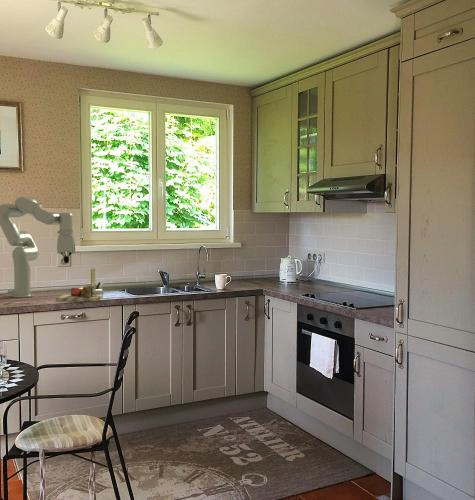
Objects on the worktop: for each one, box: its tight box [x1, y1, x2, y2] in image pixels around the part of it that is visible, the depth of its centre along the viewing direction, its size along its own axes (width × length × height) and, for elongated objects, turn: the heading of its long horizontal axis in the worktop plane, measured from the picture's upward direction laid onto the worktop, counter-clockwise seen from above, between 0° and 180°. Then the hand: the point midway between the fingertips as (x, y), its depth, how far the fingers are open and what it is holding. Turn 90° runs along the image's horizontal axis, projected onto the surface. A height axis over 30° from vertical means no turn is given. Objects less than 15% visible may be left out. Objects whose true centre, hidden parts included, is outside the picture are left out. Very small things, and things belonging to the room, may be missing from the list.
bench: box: [56, 284, 104, 302], centre depth 345 cm, size 25×14×8 cm, turn 94°
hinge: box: [94, 281, 104, 295], centre depth 365 cm, size 17×5×10 cm, turn 7°
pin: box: [70, 287, 105, 296], centre depth 345 cm, size 19×5×5 cm, turn 93°
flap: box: [90, 267, 96, 287], centre depth 345 cm, size 1×10×11 cm, turn 3°
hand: (66, 263), depth 344 cm, fingers closed
